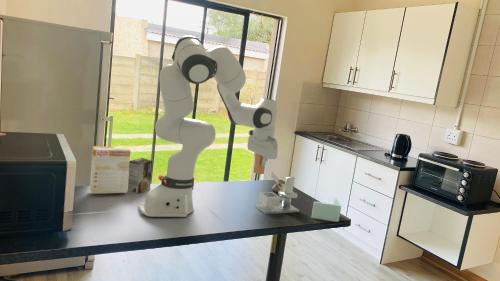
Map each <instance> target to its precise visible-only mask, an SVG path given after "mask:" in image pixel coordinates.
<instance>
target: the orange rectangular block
mask: <svg viewBox="0 0 500 281" xmlns="http://www.w3.org/2000/svg"><path fill="white" fill-rule="evenodd" d="M262 160H263V156H261V155H259V154H257V153H256V158H255V157H254V166H253V173H254V174H256V175H264V174H265V170H266V165H265V166H261V165H260V164H261V161H262Z"/></svg>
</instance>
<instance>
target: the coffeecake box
mask: <svg viewBox="0 0 500 281" xmlns="http://www.w3.org/2000/svg"><path fill="white" fill-rule="evenodd" d="M130 161H131V149H130V147H128V146H107V145H105V146H103V145H102V146H98V145H93V146H92V151H91V165H90V179H89V191H90V194H92V195H93V194H95V195H96V194H127V193H128V191H127V189H128V176H129V162H130Z"/></svg>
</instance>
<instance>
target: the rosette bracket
mask: <svg viewBox="0 0 500 281" xmlns="http://www.w3.org/2000/svg"><path fill="white" fill-rule="evenodd" d="M295 181H296V180H295V177H293V176H289V175H287V176H286V177H285V181H284V184H285V187H284V190H279V191H278V192H277V194H278V195H277V194H275V193H274V192H270V191H269V192H259V193H258V202H259V203H255V204H254V207H255V208H256V209H258V210H259V211H261V213H262V212H263V214H265V215H274V214H288V213H299V212H300V209H298V208H297V207H295V206H294V205H292V198H293V199H297V198H298V193H297V192H296V191H295V192H294V186H295V185H294V184H295Z"/></svg>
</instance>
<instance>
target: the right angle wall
mask: <svg viewBox="0 0 500 281" xmlns="http://www.w3.org/2000/svg"><path fill="white" fill-rule="evenodd" d="M339 201H340V200H338V198H337V197H334V200H333V204H332V203H325V202H321V201H320V202H319V201H313V204H312V205H313V206H312V211H311V219H317V220H322V221H323V220H324V221H331V222H337V223H338V222H339V221H340V215H341V212H342V209H341V208H342V205H341V203H340V202H339Z"/></svg>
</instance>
